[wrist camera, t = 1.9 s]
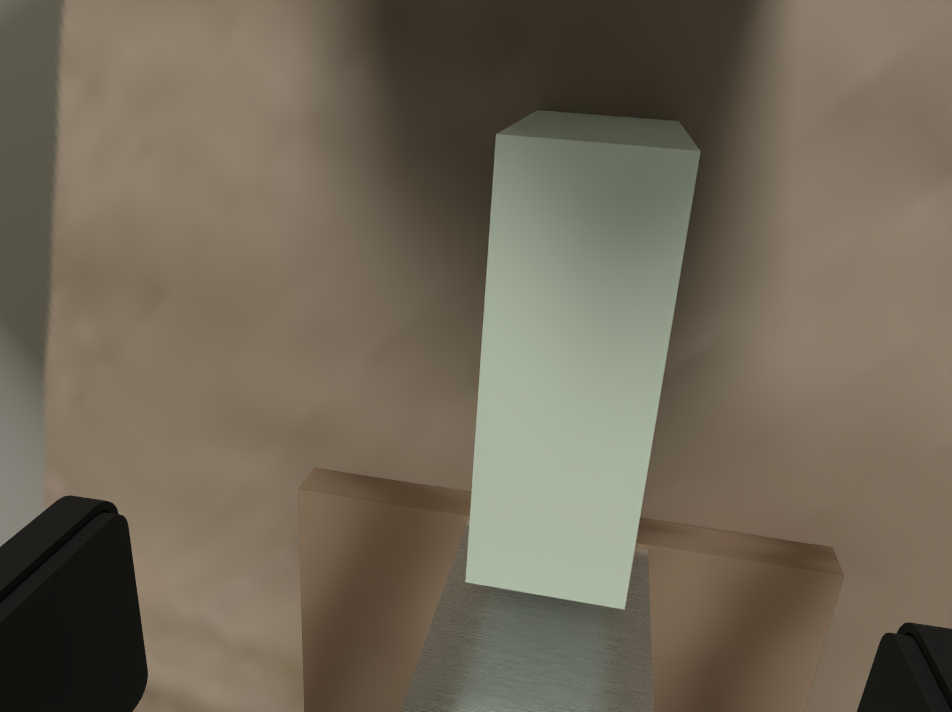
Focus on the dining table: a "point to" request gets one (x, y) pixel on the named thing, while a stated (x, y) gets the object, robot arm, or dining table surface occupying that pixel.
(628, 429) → the book
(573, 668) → the shelf
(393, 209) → the dining table surface
